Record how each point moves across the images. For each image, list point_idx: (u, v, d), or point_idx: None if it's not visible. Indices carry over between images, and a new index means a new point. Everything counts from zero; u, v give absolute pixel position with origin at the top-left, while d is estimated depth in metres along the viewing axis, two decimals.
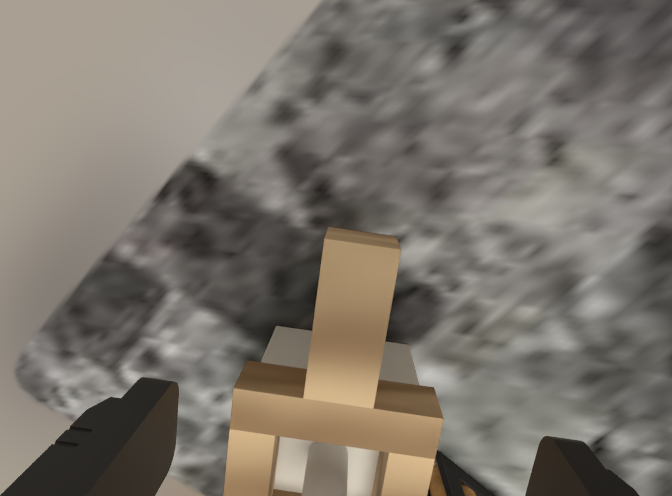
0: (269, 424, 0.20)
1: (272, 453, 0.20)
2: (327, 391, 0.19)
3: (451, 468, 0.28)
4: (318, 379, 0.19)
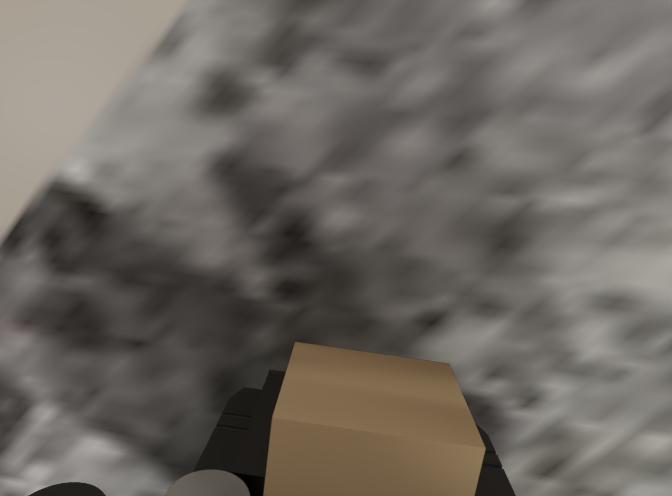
0: None
1: None
2: None
3: None
4: None
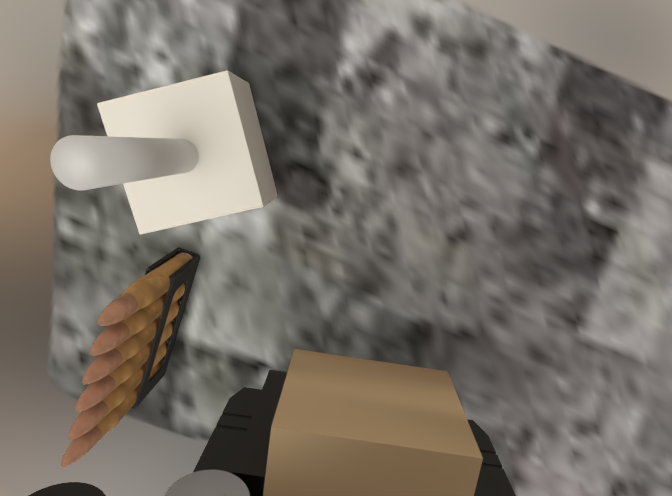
0: None
1: None
2: None
3: (193, 270, 0.33)
4: None
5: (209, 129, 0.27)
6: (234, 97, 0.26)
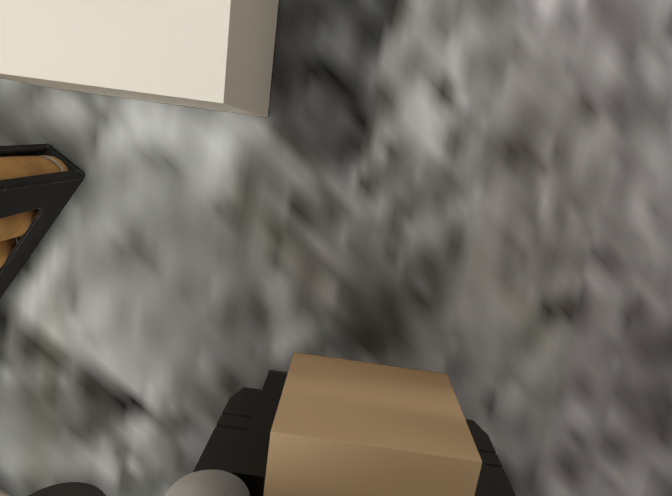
0: None
1: None
2: None
3: (58, 195, 0.17)
4: None
5: None
6: None
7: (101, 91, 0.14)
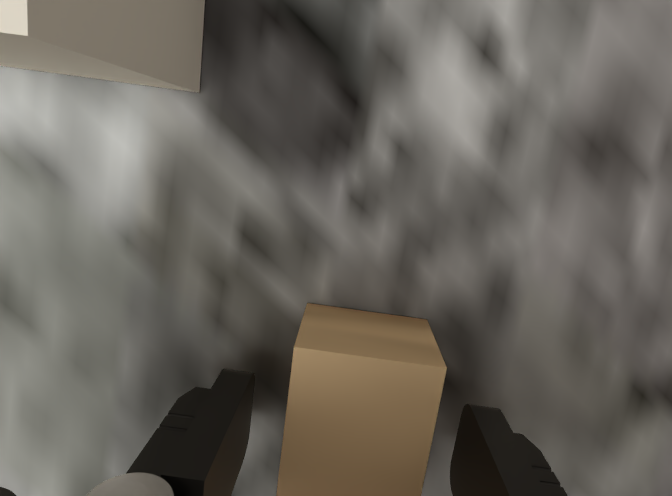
0: None
1: None
2: None
3: None
4: None
5: None
6: None
7: None
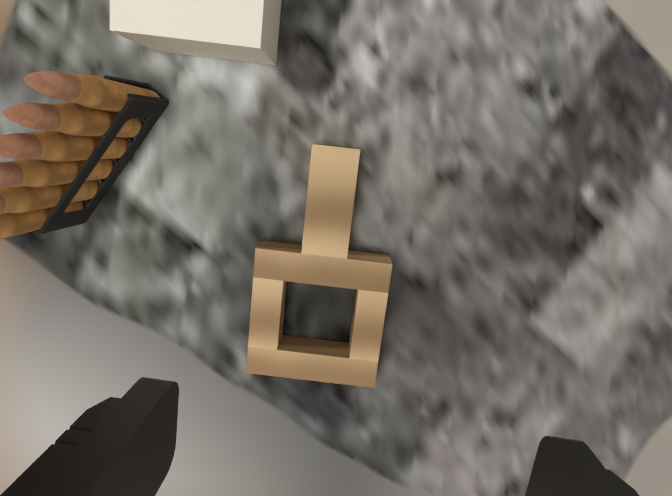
0: (279, 272, 0.30)
1: (281, 294, 0.30)
2: (316, 247, 0.29)
3: (156, 112, 0.29)
4: (310, 239, 0.29)
5: None
6: None
7: (190, 47, 0.26)
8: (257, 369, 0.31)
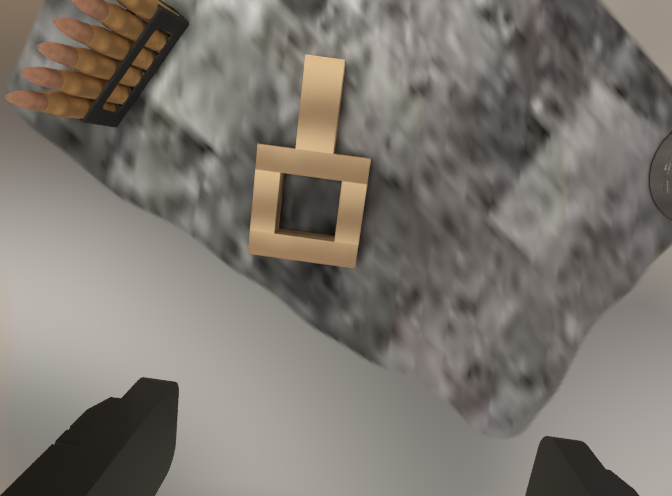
0: (277, 165, 0.36)
1: (278, 184, 0.36)
2: (308, 144, 0.36)
3: (178, 30, 0.36)
4: (303, 137, 0.35)
5: None
6: None
7: None
8: (257, 251, 0.38)
